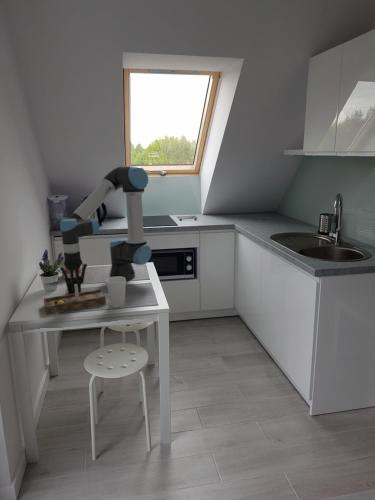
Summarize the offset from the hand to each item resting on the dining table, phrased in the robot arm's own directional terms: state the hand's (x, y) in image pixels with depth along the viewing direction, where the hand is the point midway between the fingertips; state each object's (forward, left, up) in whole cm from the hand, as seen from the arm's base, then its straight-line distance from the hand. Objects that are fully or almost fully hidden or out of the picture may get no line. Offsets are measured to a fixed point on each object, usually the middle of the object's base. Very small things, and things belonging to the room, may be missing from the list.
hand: (77, 297), depth 192 cm
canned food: (-4, -49, -4) cm, 49 cm away
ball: (+8, +1, -2) cm, 8 cm away
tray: (+1, 0, -4) cm, 4 cm away
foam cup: (-18, +10, -4) cm, 21 cm away
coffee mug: (-2, -18, -4) cm, 18 cm away
